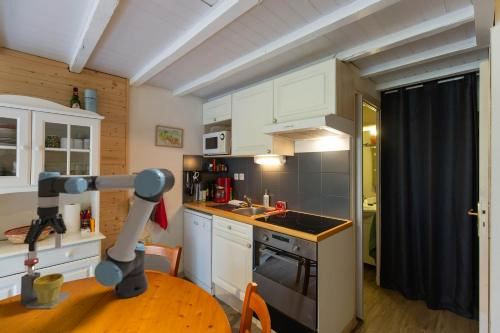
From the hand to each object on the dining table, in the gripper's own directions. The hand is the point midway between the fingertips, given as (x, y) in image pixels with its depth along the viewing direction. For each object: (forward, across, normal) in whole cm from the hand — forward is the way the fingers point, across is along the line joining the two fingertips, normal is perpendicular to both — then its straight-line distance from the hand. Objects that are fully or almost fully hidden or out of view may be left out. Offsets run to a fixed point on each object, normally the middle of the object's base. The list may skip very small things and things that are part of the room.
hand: (46, 252), depth 108 cm
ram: (+16, 0, -6) cm, 17 cm away
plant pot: (+21, +1, +2) cm, 21 cm away
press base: (+22, 0, -1) cm, 22 cm away
